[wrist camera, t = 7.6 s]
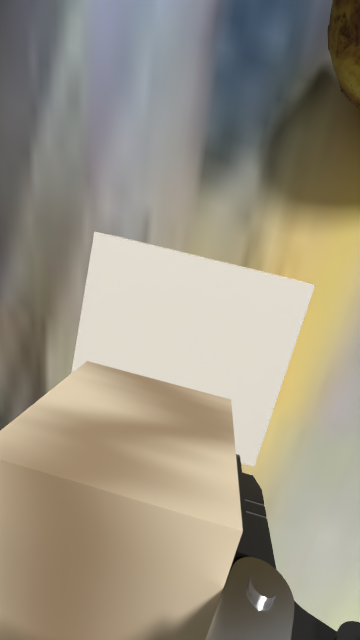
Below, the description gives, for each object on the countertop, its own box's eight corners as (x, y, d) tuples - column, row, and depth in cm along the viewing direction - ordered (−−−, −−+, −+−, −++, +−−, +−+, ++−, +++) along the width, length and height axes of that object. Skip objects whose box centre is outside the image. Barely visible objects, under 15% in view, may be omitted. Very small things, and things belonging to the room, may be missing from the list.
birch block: (231, 399, 10) (242, 531, 5) (195, 521, 11) (178, 722, 6) (86, 360, 11) (-26, 451, 6) (66, 482, 12) (-43, 646, 7)
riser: (298, 279, 23) (315, 285, 19) (248, 434, 25) (254, 466, 22) (115, 235, 23) (94, 231, 20) (87, 389, 26) (65, 412, 23)
